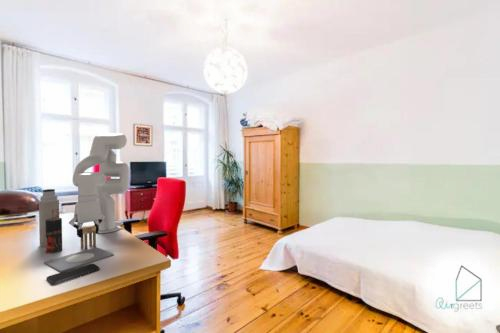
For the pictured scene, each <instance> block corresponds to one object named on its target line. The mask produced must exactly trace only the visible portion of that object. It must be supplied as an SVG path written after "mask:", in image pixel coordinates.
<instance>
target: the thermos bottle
mask: <svg viewBox="0 0 500 333" xmlns="http://www.w3.org/2000/svg"><path fill="white" fill-rule="evenodd" d="M58 198H59V197H58V195H57V194H56V189H55V188H53V189H52V188H47V189H42V195H41V196H40V200H38V219H39V220H38V222H39V223H38V224H39V227H38V228H39V235H38V236H39V247H41V248H44V247H45V248H46V221H45V220H47V219H52V218H60V199H58Z"/></svg>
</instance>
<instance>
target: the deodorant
mask: <svg viewBox="0 0 500 333" xmlns="http://www.w3.org/2000/svg"><path fill="white" fill-rule="evenodd" d="M45 221H46V247H45V253H46V254H48V255H49V254H55V253H60V252H62V251H63V219H62V217H59V218H52V219H47V220H45Z"/></svg>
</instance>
